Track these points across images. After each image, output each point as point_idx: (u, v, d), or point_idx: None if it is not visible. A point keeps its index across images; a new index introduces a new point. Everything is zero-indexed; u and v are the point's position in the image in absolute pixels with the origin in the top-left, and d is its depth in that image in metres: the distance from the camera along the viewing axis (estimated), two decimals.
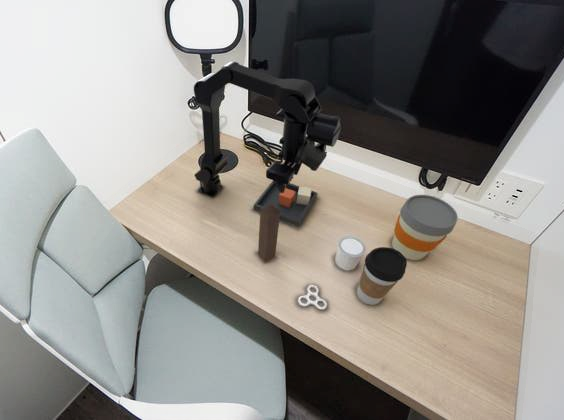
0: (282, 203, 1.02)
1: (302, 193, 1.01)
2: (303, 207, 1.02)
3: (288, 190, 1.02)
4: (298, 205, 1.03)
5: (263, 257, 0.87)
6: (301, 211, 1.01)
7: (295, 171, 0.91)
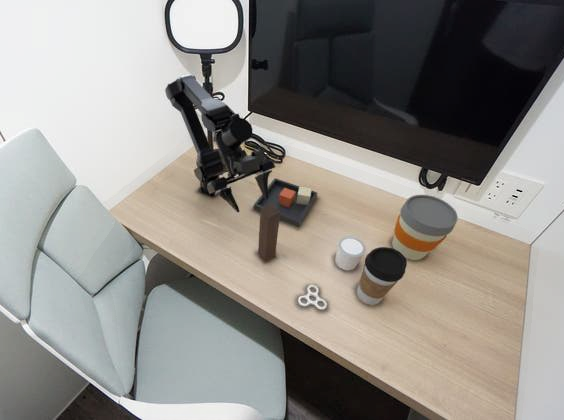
0: (282, 203, 1.02)
1: (302, 193, 1.01)
2: (303, 207, 1.02)
3: (288, 190, 1.02)
4: (298, 205, 1.03)
5: (263, 257, 0.87)
6: (301, 211, 1.01)
7: (264, 195, 0.86)
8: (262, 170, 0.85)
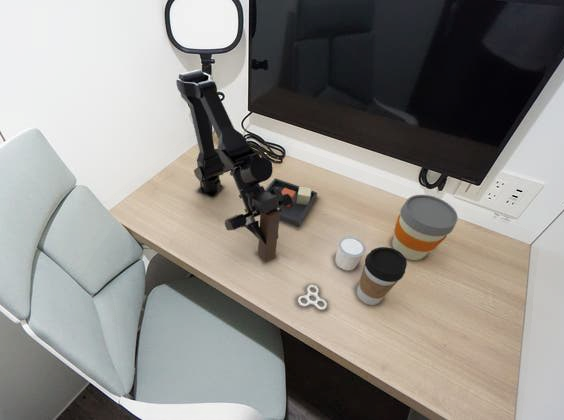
0: None
1: (302, 193, 1.01)
2: (303, 207, 1.02)
3: (288, 190, 1.02)
4: (298, 205, 1.03)
5: (264, 257, 0.87)
6: (301, 211, 1.01)
7: None
8: None
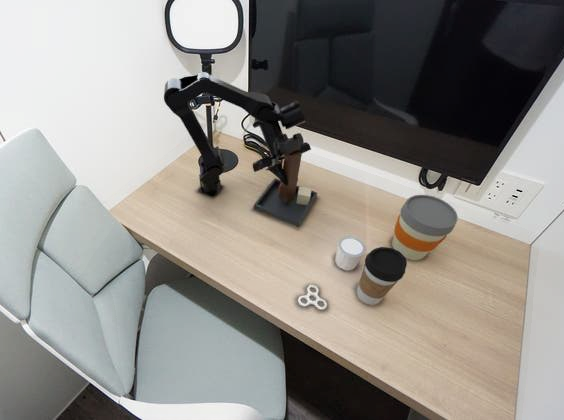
0: None
1: (302, 193, 1.01)
2: (303, 207, 1.02)
3: None
4: (298, 205, 1.03)
5: (284, 199, 1.00)
6: (301, 211, 1.01)
7: None
8: None
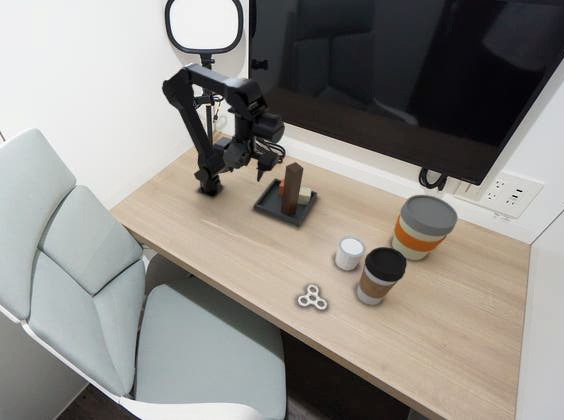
0: (282, 194, 1.06)
1: (302, 193, 1.01)
2: (303, 207, 1.02)
3: None
4: (298, 205, 1.03)
5: (286, 213, 0.98)
6: (301, 211, 1.01)
7: None
8: None
